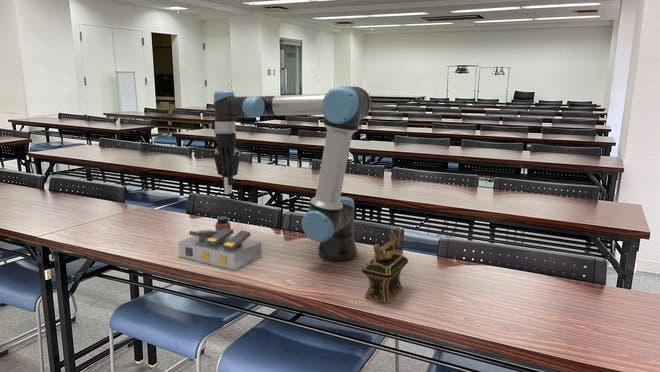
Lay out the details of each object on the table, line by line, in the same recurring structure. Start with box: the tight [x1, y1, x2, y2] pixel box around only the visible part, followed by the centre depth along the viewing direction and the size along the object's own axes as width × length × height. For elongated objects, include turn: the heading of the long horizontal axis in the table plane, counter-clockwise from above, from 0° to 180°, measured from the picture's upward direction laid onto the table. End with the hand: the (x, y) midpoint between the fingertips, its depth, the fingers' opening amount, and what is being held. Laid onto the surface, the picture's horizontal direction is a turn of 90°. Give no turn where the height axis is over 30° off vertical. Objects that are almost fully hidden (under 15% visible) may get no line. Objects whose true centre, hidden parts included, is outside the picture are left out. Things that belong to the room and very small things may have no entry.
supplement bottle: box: [214, 216, 231, 233], centre depth 189 cm, size 6×6×11 cm
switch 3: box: [223, 229, 251, 251], centre depth 171 cm, size 4×11×2 cm, turn 153°
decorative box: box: [361, 228, 409, 304], centre depth 148 cm, size 20×10×20 cm, turn 151°
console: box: [178, 234, 262, 272], centre depth 176 cm, size 26×16×7 cm, turn 63°
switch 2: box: [206, 228, 234, 246], centre depth 175 cm, size 4×11×2 cm, turn 153°
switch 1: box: [188, 229, 217, 237], centre depth 178 cm, size 4×11×2 cm, turn 153°
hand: (228, 193), depth 182 cm, fingers closed
